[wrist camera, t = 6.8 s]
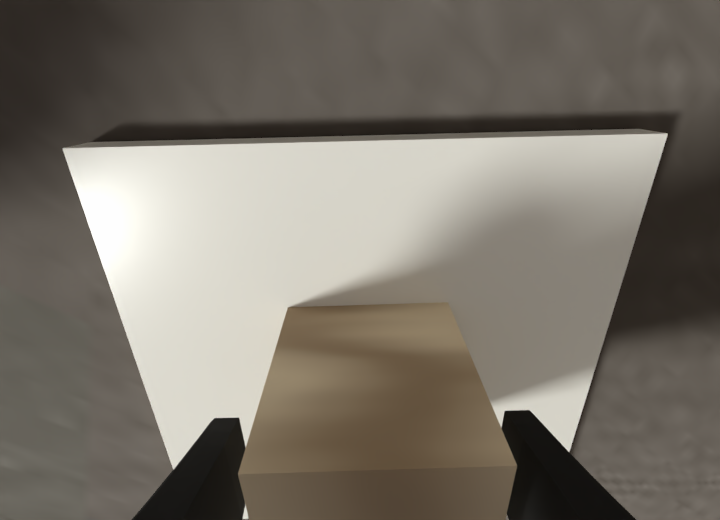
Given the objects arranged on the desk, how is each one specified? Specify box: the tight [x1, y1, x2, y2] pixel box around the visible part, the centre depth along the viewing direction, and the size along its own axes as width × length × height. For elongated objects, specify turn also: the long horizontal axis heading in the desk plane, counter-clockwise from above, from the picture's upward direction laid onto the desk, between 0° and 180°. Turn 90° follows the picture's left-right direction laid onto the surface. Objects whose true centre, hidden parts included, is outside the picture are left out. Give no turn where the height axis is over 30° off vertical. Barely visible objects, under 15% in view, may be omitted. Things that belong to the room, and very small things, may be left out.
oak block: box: [238, 302, 517, 520], centre depth 9 cm, size 4×4×5 cm
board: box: [62, 129, 668, 519], centre depth 12 cm, size 14×14×1 cm
